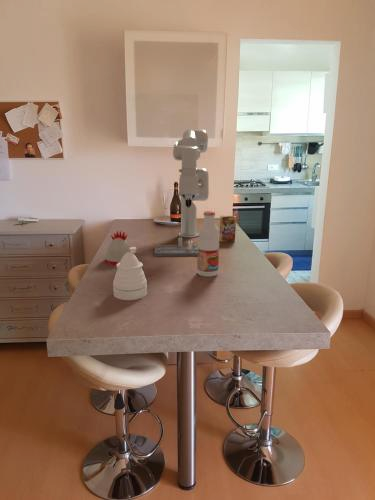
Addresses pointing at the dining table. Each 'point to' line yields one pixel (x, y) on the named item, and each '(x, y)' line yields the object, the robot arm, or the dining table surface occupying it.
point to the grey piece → (117, 248)
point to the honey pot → (129, 278)
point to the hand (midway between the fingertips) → (188, 206)
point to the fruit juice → (208, 246)
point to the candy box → (227, 228)
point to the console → (175, 250)
